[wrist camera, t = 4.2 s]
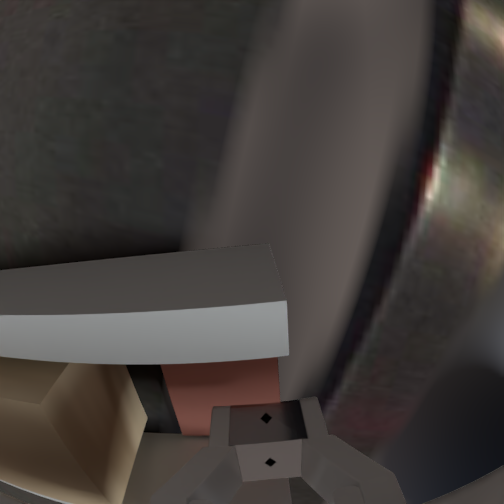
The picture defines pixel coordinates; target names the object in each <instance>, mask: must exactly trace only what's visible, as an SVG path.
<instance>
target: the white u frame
mask: <svg viewBox="0 0 504 504" xmlns="http://www.w3.org/2000/svg"><path fill="white" fill-rule="evenodd" d="M0 356H2V357H10V358H19V359H29V360H40V361H53V362H68V363H88V364H186V363H208V362H224V361H238V360H250V359H261V358H271V357H281V356H289V338H288V316H287V300H286V297H285V293H284V290H283V287H282V284H281V280H280V277H279V274H278V271H277V267H276V264H275V261H274V258H273V255H272V251H271V249H270V245H269V243H267V244H255V245H245V246H235V247H224V248H213V249H203V250H193V251H182V252H172V253H162V254H152V255H142V256H132V257H122V258H112V259H102V260H93V261H83V262H73V263H64V264H54V265H45V266H35V267H26V268H16V269H7V270H0ZM208 444H209V435H208V436H183V434H173V433H146V432H143V434H142V437H141V441H140V444H139V447H138V450H137V454H136V457H135V460H134V464H133V467H132V470H131V474H130V477H129V481H128V484H127V488H126V491H125V495H124V498H123V502H122V504H150V500H151V496H152V495H153V494H154V493H155V492H156V491H157V490H158V489H160V488H161V487H162V486H163V485H164V484H165V483H166V482H167V481H168V480H169V479H170V478H171V477H173V476H174V475H175V474H176V473H177V472H178V471H179V470H180V469H181V468H182V467H183V466H184V465H185V464H186V463H187V462H188V461H189V460H190V459H191V458H192V457H193V456H194V455H195V454H196V453H197V452H198V451H199V450H200V449H201V448H202V447H208ZM0 481H3V480H0ZM3 482H5V481H3ZM5 483H7V484H10V483H8V482H5ZM10 485H12V486H15V485H13V484H10ZM15 487H17V488H20V489H22V490H25V491H28V492H31V493H33V494H36V495H39V496H42V497H45V498H48V499H51V500H54V501H58V502H61V503H64V504H73V503H69V502H65V501H61V500H58V499H54V498H51V497H48V496H44V495H41V494H38V493H35V492H32V491H29V490H26V489H24V488H21V487H18V486H15ZM229 504H292V502H291V495H290V488H289V480H288V478H279V479H268V480H258V481H246V482H243V484H242V485H241V487H240V488H239V489H238V491H237V492H236V494H235V495H234V497H233V498H232V499H231V501H230V502H229Z"/></svg>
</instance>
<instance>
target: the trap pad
mask: <svg viewBox="0 0 504 504" xmlns="http://www.w3.org/2000/svg"><path fill="white" fill-rule="evenodd" d="M160 365H161V368H162V372H163V375H164V379H165V382H166V385H167V389H168V392H169V395H170V398H171V401H172V404H173V408H174V411H175V414H176V417H177V420H178V423H179V425H180V428H181V431H182V434H183V436H208V435H209V434H210V424H211V414H212V409H213V406H231V405H250V404H265V403H274V402H280V390H279V374H278V357H271V358H261V359H250V360H238V361H224V362H208V363H186V364H160Z"/></svg>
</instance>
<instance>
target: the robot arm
mask: <svg viewBox="0 0 504 504" xmlns="http://www.w3.org/2000/svg"><path fill="white" fill-rule="evenodd" d="M300 476H302V478H303V479H304V480H305V481H306V482H307V483H308V484H309V485H310V486H311V487H312V488H313V489H314V490H315V491H316V492H317V493H318V494H319V495H320V496H321V497H322V498H323V499H324V500H325V501H326V502H328V503H329V504H406V501H405V499H404V496H403V494H402V491H401V489H400V487H399V484H398V482H397V480H396V477H395V475H394V473H392V472H391V471H389V470H387V469H386V468H384V467H382V466H381V465H379V464H378V463H376V462H374V461H373V460H371V459H370V458H368V457H367V456H365V455H363V454H362V453H360V452H359V451H357V450H356V449H354V448H353V447H351V446H350V445H348V444H347V443H345V442H344V441H342V440H341V439H339V438H338V437H336V436H335V435H328V432H327V429H326V425H325V422H324V418H323V415H322V412H321V408H320V405H319V402H318V399H317V398H316V397H310V398H304V399H299V400H290V401H283V402H274V403H265V404H250V405H231V406H213V409H212V414H211V424H210V434H209V444H208V447H202V448H201V449H200V450H199V451H198V452H197V453H196V454H195V455H194V456H193V457H192V458H191V459H190V460H189V461H188V462H187V463H186V464H185V465H184V466H183V467H182V468H181V469H180V470H179V471H178V472H177V473H176V474H175V475H174V476H173V477H171V478H170V479H169V480H168V481H167V482H166V483H165V484H164V485H163V486H162V487H161V488H160V489H158V490H157V491H156V492H155V493H154V494H153V495H152V496H151V500H150V504H229V502H230V501H231V499H232V498H233V497H234V495H235V494H236V492H237V491H238V489H239V488H240V487H241V485H242V484H243V482H246V481H258V480H268V479H279V478H290V477H300ZM0 504H29V503H26V502H24V501H21V500H19V499H16V498H14V497H12V496H9V495H7V494H5V493H3V492H0ZM424 504H504V465H503V466H502V467H500V468H498V469H496V470H495V471H493V472H491V473H489V474H487V475H485V476H483V477H481V478H480V479H478V480H476V481H474V482H472V483H470V484H468V485H465V486H463V487H461V488H459V489H457V490H455V491H452V492H450V493H448V494H446V495H443V496H441V497H439V498H436V499H433V500H431V501H428V502H426V503H424Z"/></svg>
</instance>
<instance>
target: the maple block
mask: <svg viewBox="0 0 504 504" xmlns="http://www.w3.org/2000/svg"><path fill="white" fill-rule="evenodd" d="M146 421H147V415H146V413H145V411H144V409H143V406H142V404H141V402H140V399H139V397H138V395H137V392H136V390H135V387H134V385H133V382H132V380H131V377H130V375H129V372H128V369H127V367H126V364H88V363H68V362H53V361H40V360H29V359H19V358H10V357H2V356H0V480H3V481H5V482H8V483H10V484H13V485H15V486H18V487H21V488H24V489H26V490H29V491H32V492H35V493H38V494H41V495H44V496H48V497H51V498H54V499H58V500H61V501H65V502H69V503H73V504H122V502H123V498H124V495H125V491H126V488H127V484H128V481H129V477H130V474H131V470H132V467H133V464H134V460H135V457H136V454H137V450H138V447H139V444H140V441H141V437H142V434H143V431H144V428H145V425H146Z"/></svg>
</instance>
